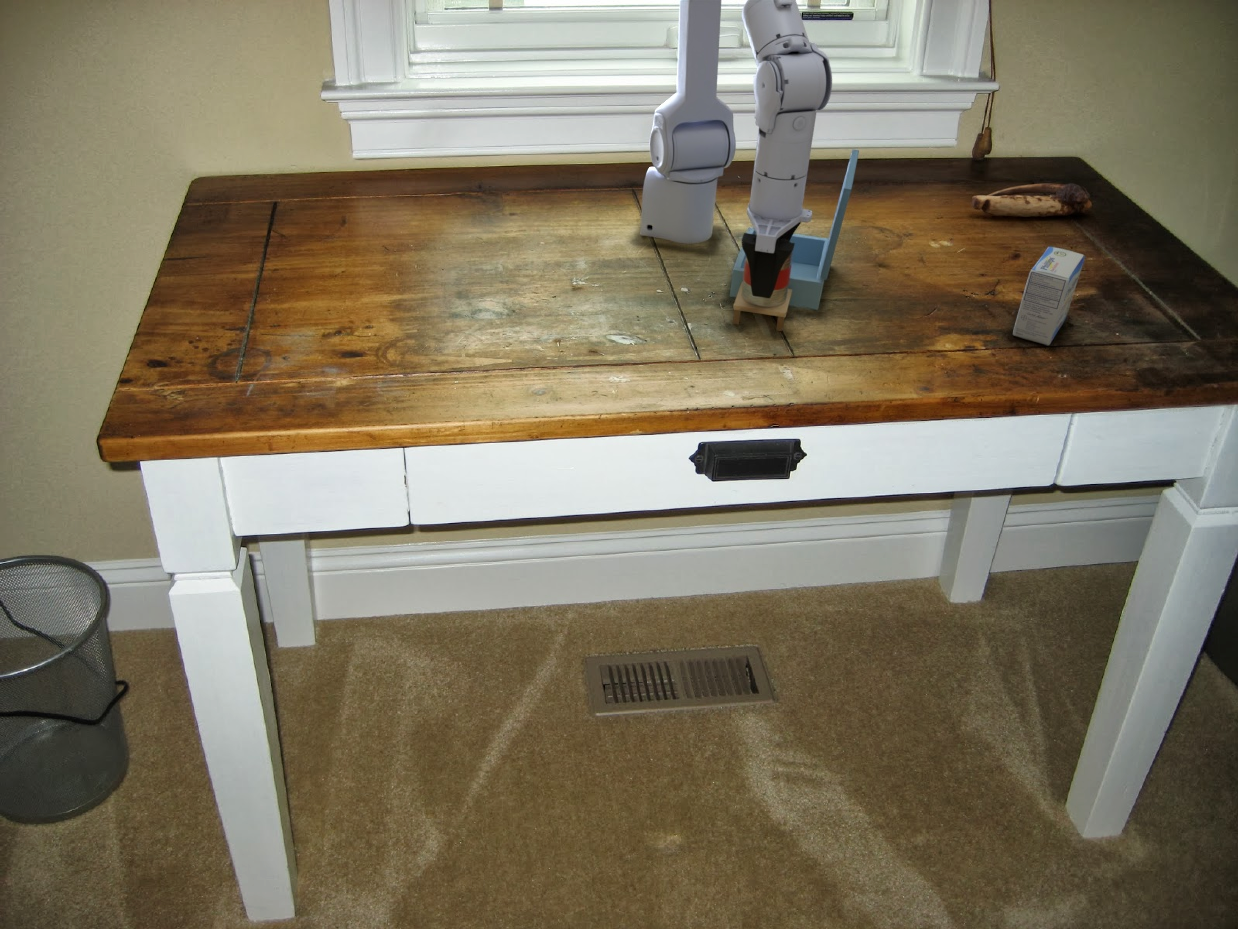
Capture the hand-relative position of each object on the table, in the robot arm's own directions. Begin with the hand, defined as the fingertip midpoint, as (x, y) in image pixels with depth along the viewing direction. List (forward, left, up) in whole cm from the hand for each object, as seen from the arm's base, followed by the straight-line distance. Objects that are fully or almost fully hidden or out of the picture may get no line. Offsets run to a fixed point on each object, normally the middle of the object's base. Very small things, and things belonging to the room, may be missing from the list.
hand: (765, 284), depth 123 cm
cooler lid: (+6, +10, +6) cm, 13 cm away
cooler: (+1, +10, -5) cm, 11 cm away
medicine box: (+32, +9, -5) cm, 34 cm away
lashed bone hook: (+32, +45, -5) cm, 55 cm away
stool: (0, 0, -5) cm, 5 cm away
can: (0, 0, -2) cm, 2 cm away
